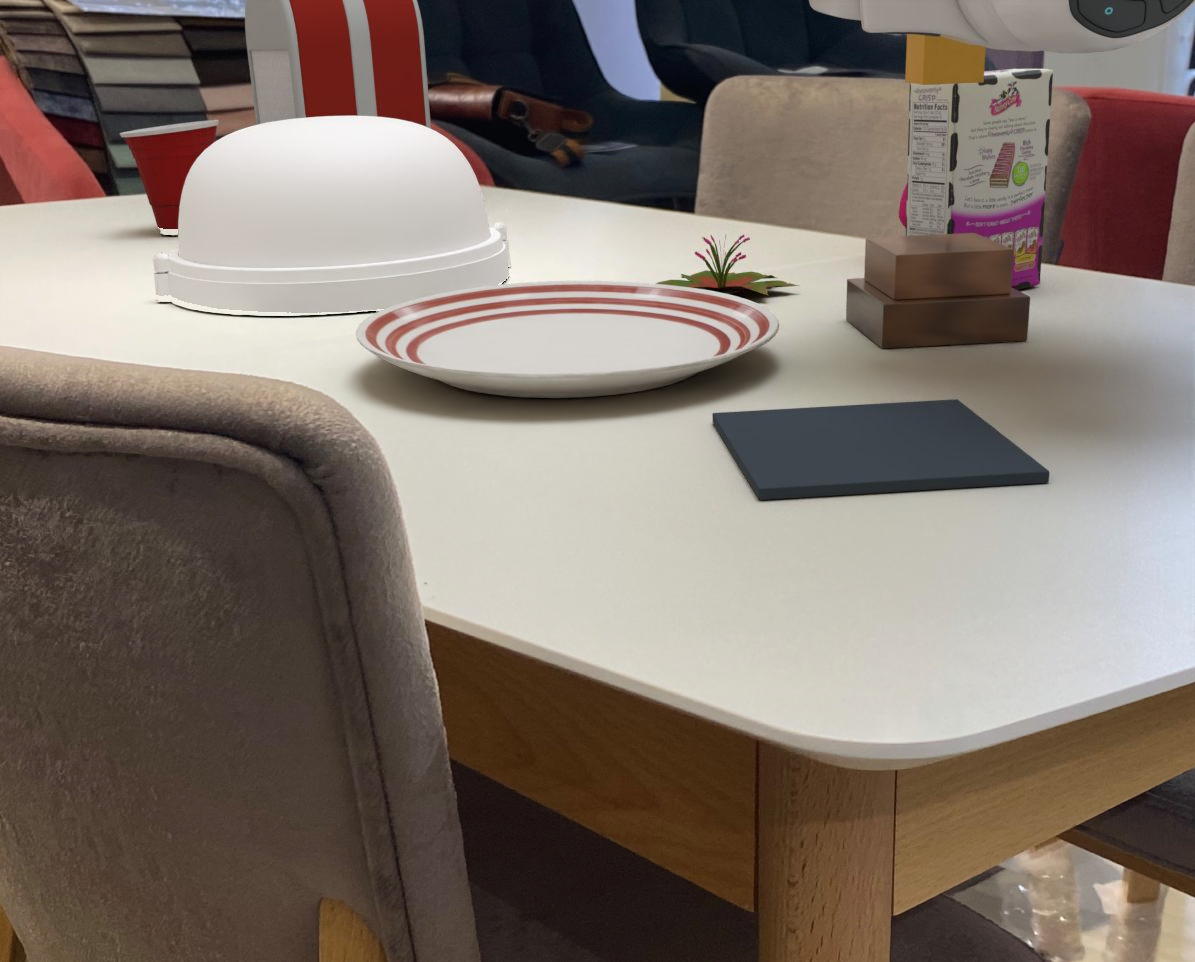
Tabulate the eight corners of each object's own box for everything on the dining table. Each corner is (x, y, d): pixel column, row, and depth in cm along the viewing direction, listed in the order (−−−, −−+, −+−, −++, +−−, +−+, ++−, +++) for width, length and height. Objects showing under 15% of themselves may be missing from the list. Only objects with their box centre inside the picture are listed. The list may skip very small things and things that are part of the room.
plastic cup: (153, 228, 169) (137, 120, 164) (244, 224, 168) (230, 117, 164) (121, 241, 159) (103, 128, 154) (217, 238, 158) (202, 124, 154)
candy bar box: (991, 279, 118) (1005, 68, 112) (1041, 286, 115) (1058, 68, 108) (897, 298, 112) (906, 75, 106) (947, 306, 109) (959, 76, 102)
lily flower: (620, 292, 119) (619, 236, 117) (737, 275, 125) (736, 221, 123) (705, 314, 109) (705, 252, 108) (827, 293, 115) (828, 235, 113)
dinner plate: (864, 356, 94) (865, 305, 93) (558, 447, 77) (555, 386, 76) (576, 309, 113) (575, 266, 111) (278, 375, 95) (272, 325, 94)
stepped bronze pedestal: (978, 313, 106) (984, 230, 104) (1027, 341, 97) (1034, 250, 94) (845, 320, 105) (848, 236, 103) (881, 349, 96) (885, 258, 94)
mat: (956, 409, 81) (957, 398, 81) (1049, 483, 68) (1050, 470, 68) (712, 423, 80) (712, 412, 80) (759, 500, 68) (759, 488, 67)
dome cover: (461, 246, 146) (451, 100, 141) (569, 290, 120) (561, 114, 115) (137, 277, 135) (113, 120, 130) (180, 333, 109) (151, 140, 104)
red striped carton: (439, 200, 183) (422, -30, 173) (309, 214, 175) (283, -27, 165) (386, 190, 197) (367, -24, 186) (262, 203, 188) (235, -21, 178)
